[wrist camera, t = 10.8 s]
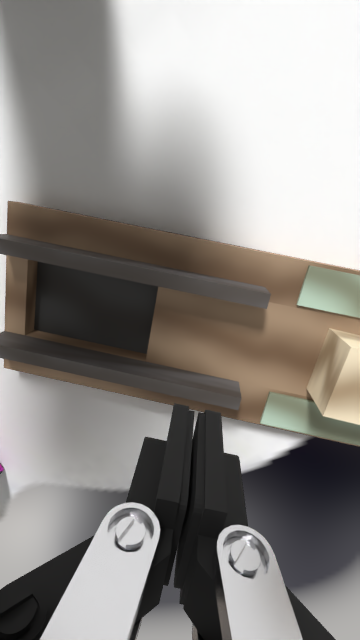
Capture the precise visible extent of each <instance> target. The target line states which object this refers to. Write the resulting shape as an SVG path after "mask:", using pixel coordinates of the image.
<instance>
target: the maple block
mask: <svg viewBox="0 0 360 640" xmlns="http://www.w3.org/2000/svg"><path fill="white" fill-rule="evenodd" d="M307 390H308V392H309V393H310V395H311V397H312V398H313V400H314V402H315V404H316V405H317V407H318V409H319V410H320V412H321V414H322V415H323V416H325V417H329V418H333V419H337V420H341V421H345V422H350V423H354V424H358V425H360V335H356V334H351V333H347V332H343V331H339V330H334V329H330V328H329V330H328V333H327V335H326V338H325V341H324V343H323V346H322V349H321V351H320V354H319V356H318V359H317V362H316V364H315V367H314V370H313V372H312V375H311V378H310V380H309V383H308V385H307Z"/></svg>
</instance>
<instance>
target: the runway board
mask: <svg viewBox="0 0 360 640" xmlns="http://www.w3.org/2000/svg"><path fill="white" fill-rule="evenodd" d="M0 254H4V255H6V297H5V331H4V332H2V333H0V358H3V359H4V368H7V369H12V370H16V371H21V372H25V373H30V374H34V375H39V376H43V377H48V378H52V379H57V380H61V381H66V382H70V383H75V384H79V385H84V386H88V387H93V388H97V389H102V390H106V391H111V392H115V393H120V394H124V395H129V396H133V397H138V398H143V399H147V400H152V401H156V402H161V403H165V404H170V405H174V403H176V404H181V405H186V406H189V409H192V410H197V411H201V412H205V410H211V411H216V412H220V413H221V416H224V417H228V418H233V419H237V420H242V421H246V422H251V423H255V424H260V425H264V426H269V427H273V428H278V429H282V430H287V431H291V432H296V433H301V434H305V435H310V436H314V437H319V438H323V439H328V440H332V441H337V442H341V443H346V444H350V445H355V446H359V447H360V425H358V424H354V423H350V422H345V421H341V420H337V419H333V418H329V417H325V416H323V415H322V414H321V412H320V410H319V409H318V407H317V405H316V404H315V402H314V400H313V398H312V397H311V395H310V393H309V392H308V390H307V385H308V383H309V380H310V378H311V375H312V372H313V370H314V367H315V364H316V362H317V359H318V356H319V354H320V351H321V349H322V346H323V343H324V341H325V338H326V335H327V333H328V330H329V328H330V329H334V330H339V331H343V332H347V333H351V334H356V335H360V270H355V269H350V268H345V267H340V266H335V265H330V264H325V263H320V262H315V261H310V260H305V259H300V258H295V257H290V256H285V255H280V254H275V253H270V252H265V251H260V250H255V249H250V248H245V247H240V246H235V245H230V244H225V243H220V242H215V241H210V240H205V239H200V238H195V237H190V236H185V235H180V234H175V233H170V232H165V231H160V230H155V229H150V228H145V227H140V226H135V225H130V224H125V223H120V222H115V221H110V220H105V219H101V218H96V217H91V216H86V215H81V214H76V213H71V212H66V211H61V210H56V209H51V208H46V207H41V206H36V205H31V204H26V203H21V202H13V201H8V212H7V234H0Z"/></svg>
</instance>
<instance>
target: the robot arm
mask: <svg viewBox="0 0 360 640" xmlns="http://www.w3.org/2000/svg"><path fill="white" fill-rule="evenodd" d="M193 424H194V411H190V410H189V406H186V405H181V404H176V403H174V407H173V412H172V417H171V422H170V428H169V433H168V438H167V441H164V440H159V439H154V438H149V437H145V439H144V442H143V445H142V449H141V452H140V456H139V459H138V463H137V466H136V470H135V473H134V476H133V480H132V483H131V487H130V490H129V494H128V497H127V501H126V503H123V504H121V505H118V506H116V507H114V508H113V509H112V510H110V511H109V512H108V513H107V515H106V516H105V518H104V519H103V521H102V523H101V525H100V527H99V529H98V531H97V532H96V534H95V535H94V536H92V537H91V538H89V539H87V540H85V541H84V542H82V543H80V544H78V545H77V546H75V547H73V548H71V549H70V550H68V551H66V552H65V553H62V554H61V555H59V556H57V557H55V558H54V559H52V560H50V561H48V562H47V563H45V564H43V565H41V566H39V567H38V568H36V569H34V570H32V571H31V572H29V573H27V574H26V575H24V576H22V577H20V578H18V579H17V580H15V581H13V582H11V583H9V584H8V585H6V586H5V587H3V588H2V589H1V590H0V640H136V639H137V636H138V632H139V629H140V626H141V621H142V617H144V616H145V615H146V614H147V613H148V612H149V611H151V610H152V609H153V608H154V607H155V606H157V605H158V604H159V601H160V597H161V592H162V588H163V585H166V586H168V584H169V580H170V576H171V571H172V567H173V563H174V559H175V555H176V551H177V556H176V568H175V578H174V587H175V588H180V589H181V591H180V604H183V605H184V610H185V612H186V614H187V615H188V617H189V618H190V619H191V621H192V623H193V626H192V627H193V628H192V639H193V640H335V639H334V637H333V636H332V635H331V634H330V633H329V632H328V631H327V630H326V629H325V628H324V627H323V626H322V624H321V623H320V622H319V621H318V620H317V619H316V618H315V617H314V616H313V615H312V614H311V613H310V612H309V610H308V609H307V608H306V607H305V606H304V605H303V604H302V603H301V602H300V601H299V600H298V599H297V597H295V596H294V594H293V593H292V592H291V591H290V590H289V589H288V588H287V587H286V586H285V585H284V582H283V579H282V575H281V572H280V569H279V567H278V564H277V560H276V557H275V555H274V552H273V551H272V548H271V546H270V545H269V543H268V542H267V541H266V539H265V538H264V537H263V536H262V535H260V534H259V533H258V532H256V531H255V530H253V529H251V528H249V527H248V523H247V515H246V507H245V500H244V492H243V484H242V476H241V468H240V461H239V457H238V456H237V455H232V454H227V453H224V451H223V435H222V420H221V413H220V412H216V411H211V410H205V412H204V413H199V414H198V418H197V422H196V426H195V431H194V435H193ZM192 438H193V439H192Z"/></svg>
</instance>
